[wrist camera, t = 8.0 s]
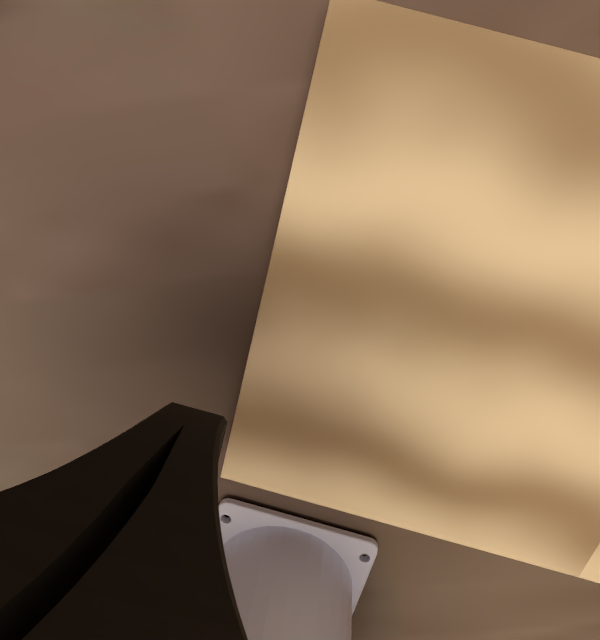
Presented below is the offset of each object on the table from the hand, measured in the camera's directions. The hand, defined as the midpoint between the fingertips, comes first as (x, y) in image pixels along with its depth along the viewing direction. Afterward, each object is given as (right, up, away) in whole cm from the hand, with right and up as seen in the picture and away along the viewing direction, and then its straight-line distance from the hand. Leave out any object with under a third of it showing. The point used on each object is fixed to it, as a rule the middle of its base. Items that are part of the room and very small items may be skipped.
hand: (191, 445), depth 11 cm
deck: (+14, +2, +8) cm, 16 cm away
